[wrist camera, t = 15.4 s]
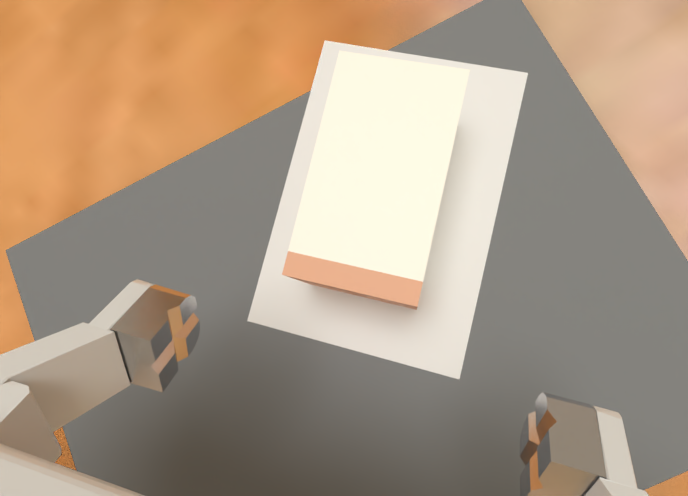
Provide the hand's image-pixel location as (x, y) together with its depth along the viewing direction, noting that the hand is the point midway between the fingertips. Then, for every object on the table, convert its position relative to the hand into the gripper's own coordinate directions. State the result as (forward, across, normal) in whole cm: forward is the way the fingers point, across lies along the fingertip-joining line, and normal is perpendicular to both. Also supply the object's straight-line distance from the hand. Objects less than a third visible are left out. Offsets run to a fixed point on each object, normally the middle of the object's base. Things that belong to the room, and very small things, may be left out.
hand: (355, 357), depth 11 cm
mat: (+7, -2, -6) cm, 9 cm away
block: (+11, -1, +2) cm, 11 cm away
